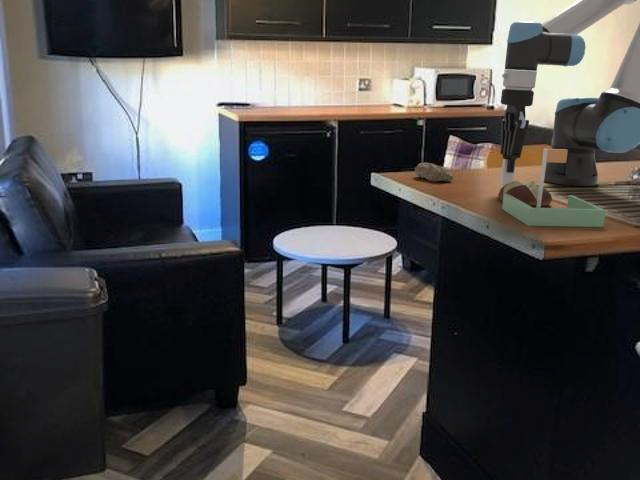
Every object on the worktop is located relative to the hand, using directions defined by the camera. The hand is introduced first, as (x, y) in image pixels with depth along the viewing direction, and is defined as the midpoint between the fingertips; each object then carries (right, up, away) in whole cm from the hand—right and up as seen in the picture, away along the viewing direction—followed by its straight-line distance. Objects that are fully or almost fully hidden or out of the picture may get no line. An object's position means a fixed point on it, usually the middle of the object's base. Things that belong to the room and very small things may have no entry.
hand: (506, 184), depth 171 cm
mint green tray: (+2, -9, -25) cm, 27 cm away
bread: (+1, -6, -11) cm, 12 cm away
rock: (-16, +2, +16) cm, 22 cm away
